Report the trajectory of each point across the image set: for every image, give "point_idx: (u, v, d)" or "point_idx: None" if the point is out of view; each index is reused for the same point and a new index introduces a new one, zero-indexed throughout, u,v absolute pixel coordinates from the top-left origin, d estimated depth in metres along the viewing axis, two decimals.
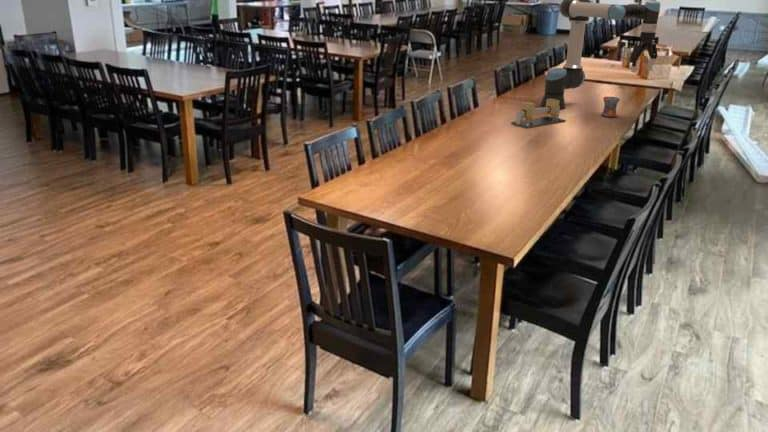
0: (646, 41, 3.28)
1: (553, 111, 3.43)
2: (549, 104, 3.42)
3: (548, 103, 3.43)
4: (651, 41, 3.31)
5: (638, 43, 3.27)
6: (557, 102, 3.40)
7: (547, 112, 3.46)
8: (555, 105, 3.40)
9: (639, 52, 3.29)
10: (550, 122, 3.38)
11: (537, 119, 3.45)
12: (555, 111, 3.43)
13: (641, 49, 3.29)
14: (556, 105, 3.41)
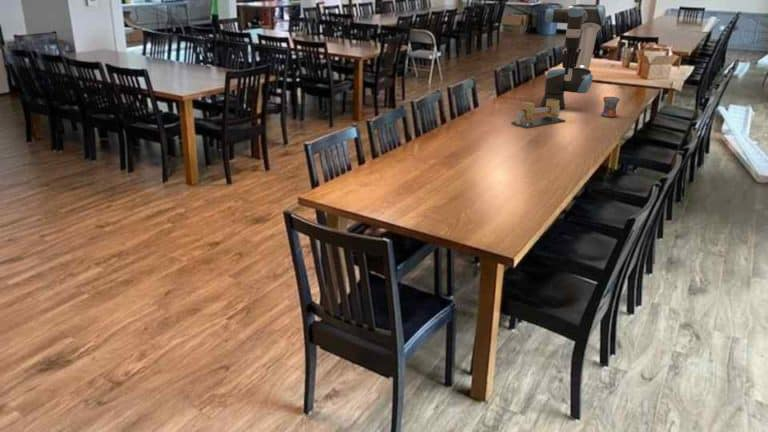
0: (570, 45, 3.31)
1: (553, 111, 3.43)
2: (549, 104, 3.42)
3: (548, 103, 3.43)
4: (577, 46, 3.34)
5: (563, 52, 3.31)
6: (557, 102, 3.40)
7: (547, 112, 3.46)
8: (555, 105, 3.40)
9: (568, 60, 3.34)
10: (550, 122, 3.38)
11: (537, 119, 3.45)
12: (555, 111, 3.43)
13: (568, 56, 3.34)
14: (556, 105, 3.41)
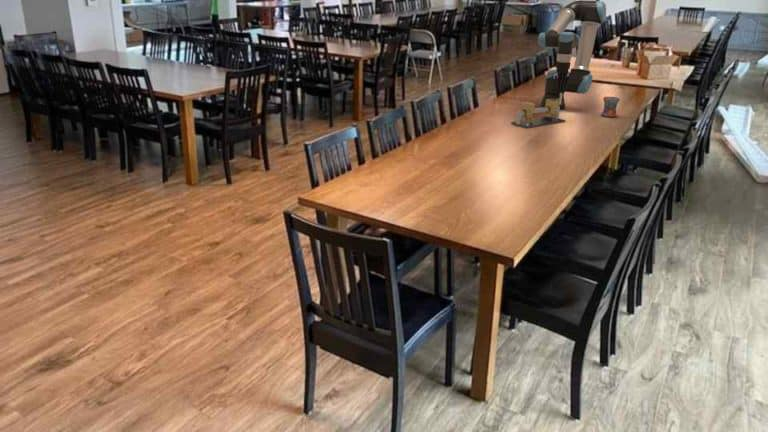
0: (560, 70, 3.33)
1: (553, 111, 3.43)
2: (549, 104, 3.42)
3: (547, 103, 3.43)
4: (567, 70, 3.36)
5: (554, 77, 3.34)
6: (557, 102, 3.40)
7: (547, 112, 3.46)
8: (554, 105, 3.40)
9: (559, 84, 3.37)
10: (550, 122, 3.38)
11: (537, 119, 3.45)
12: (555, 111, 3.43)
13: (559, 81, 3.36)
14: (556, 105, 3.41)
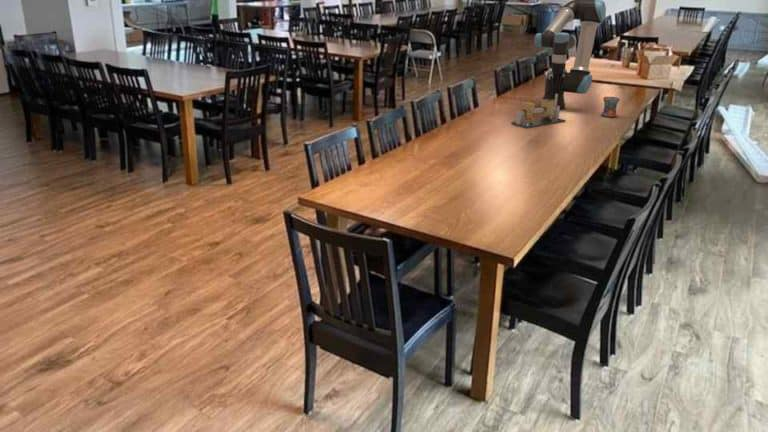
0: (556, 70, 3.31)
1: (548, 112, 3.41)
2: (544, 105, 3.40)
3: (543, 103, 3.41)
4: (563, 71, 3.34)
5: (549, 78, 3.32)
6: (552, 103, 3.38)
7: (542, 113, 3.44)
8: (550, 106, 3.38)
9: (554, 85, 3.35)
10: (550, 122, 3.38)
11: (537, 119, 3.45)
12: (550, 112, 3.42)
13: (555, 81, 3.34)
14: (551, 106, 3.39)
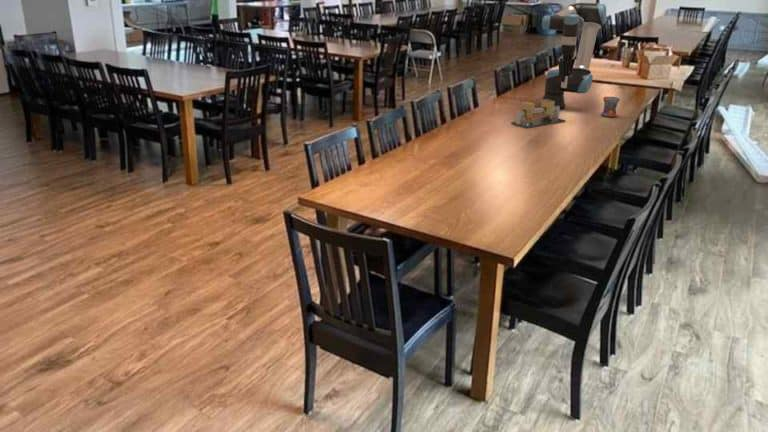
0: (566, 52, 3.31)
1: (548, 112, 3.41)
2: (544, 105, 3.40)
3: (543, 103, 3.41)
4: (573, 53, 3.34)
5: (559, 60, 3.32)
6: (552, 103, 3.38)
7: (542, 113, 3.44)
8: (550, 106, 3.38)
9: (564, 67, 3.35)
10: (550, 122, 3.38)
11: (537, 119, 3.45)
12: (550, 112, 3.42)
13: (565, 64, 3.34)
14: (551, 106, 3.39)
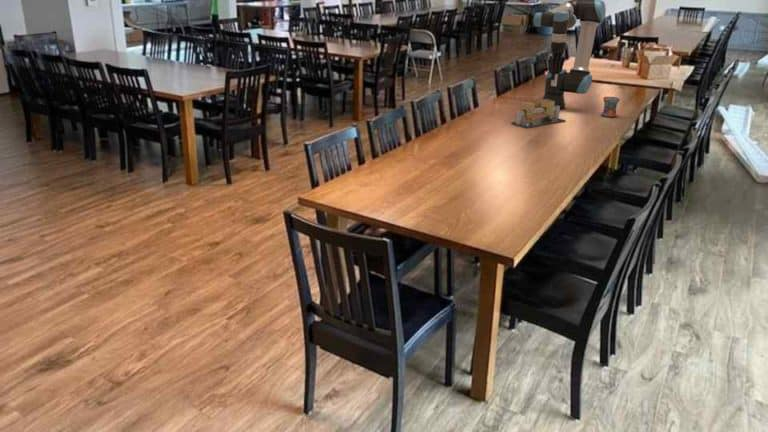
0: (555, 50, 3.25)
1: (548, 112, 3.41)
2: (544, 105, 3.40)
3: (543, 103, 3.41)
4: (563, 51, 3.28)
5: (549, 58, 3.25)
6: (552, 103, 3.38)
7: (542, 113, 3.44)
8: (550, 106, 3.38)
9: (554, 65, 3.29)
10: (550, 122, 3.38)
11: (537, 119, 3.45)
12: (550, 112, 3.42)
13: (554, 61, 3.28)
14: (551, 106, 3.39)
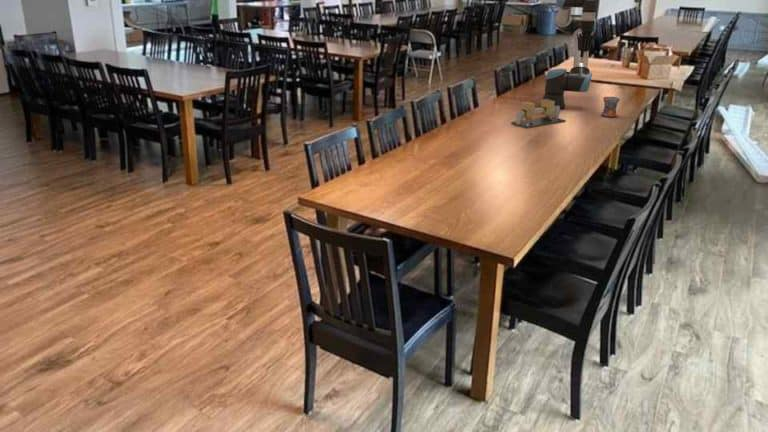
0: (585, 28, 3.40)
1: (548, 112, 3.41)
2: (544, 105, 3.40)
3: (543, 103, 3.41)
4: (592, 29, 3.43)
5: (578, 36, 3.41)
6: (552, 103, 3.38)
7: (542, 113, 3.44)
8: (550, 106, 3.38)
9: (583, 43, 3.44)
10: (550, 122, 3.38)
11: (537, 119, 3.45)
12: (550, 112, 3.42)
13: (583, 39, 3.43)
14: (551, 106, 3.39)
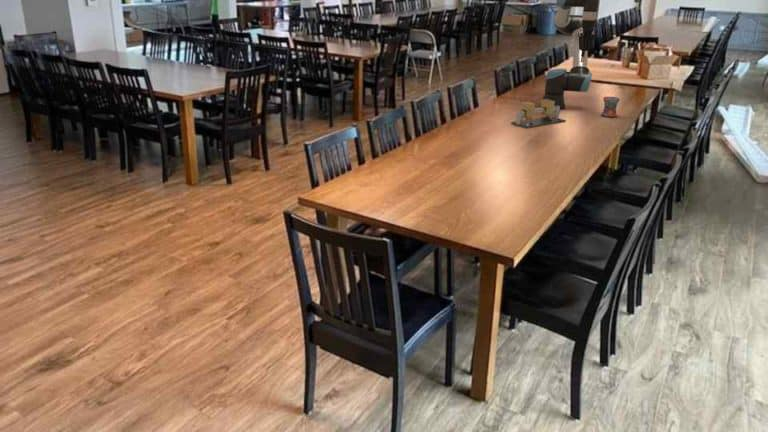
0: (586, 27, 3.40)
1: (548, 112, 3.41)
2: (544, 105, 3.40)
3: (543, 103, 3.41)
4: (592, 28, 3.43)
5: (579, 35, 3.41)
6: (552, 103, 3.38)
7: (542, 113, 3.44)
8: (550, 106, 3.38)
9: (584, 42, 3.44)
10: (550, 122, 3.38)
11: (537, 119, 3.45)
12: (550, 112, 3.42)
13: (585, 38, 3.43)
14: (551, 106, 3.39)
